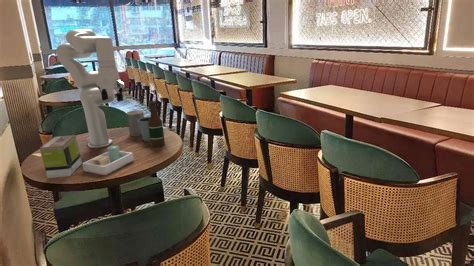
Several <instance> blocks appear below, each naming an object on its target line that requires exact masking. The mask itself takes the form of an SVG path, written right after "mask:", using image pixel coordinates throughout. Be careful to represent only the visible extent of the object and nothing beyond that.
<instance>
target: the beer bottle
mask: <svg viewBox="0 0 474 266" xmlns="http://www.w3.org/2000/svg"><path fill="white" fill-rule="evenodd" d="M148 105H149V110H150V111H149V112H150V116H149V117H150V119H149V122H148V127H149V135H150V141H149V142H150V146H151V147H153V148H159V147H160V148H161V147H163V146H165V134H164V125H163V121H162V120H163V119H162V118H161V117H160V116H159V114H158V107H157V102H156V101H155V100H151V101H149V102H148Z"/></svg>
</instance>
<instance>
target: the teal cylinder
mask: <svg viewBox="0 0 474 266" xmlns="http://www.w3.org/2000/svg"><path fill="white" fill-rule="evenodd" d="M119 151H120V147H119V146H118V145H110V146H108V147H107V152H108V154H109V160H110V163H112V162H114V161H116V160H118V159H120V158H121V157H120V152H119Z"/></svg>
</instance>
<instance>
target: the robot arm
mask: <svg viewBox="0 0 474 266" xmlns="http://www.w3.org/2000/svg"><path fill="white" fill-rule="evenodd" d="M65 34H66V35H65V40H66V42H67V43H61V44H60V45H59V44H58V46H57V47H56V49H55V50H56V51H55V52H56V56H57V58H58V60H59V62H60V64H61V65H62V67H63V68H64V69H65V70H66V71H67V72H68V73H69V76H70V77H71V79H72V81H73V83H74V84H75V87H76V88H77V89H78V90H80V92H79V100H80V102H81V104H82V107H83V112H84V115H85V116H84V117H85V121H86V125H87V126H86V127H87V131H88V137H86V141H89V142H88V144H87V146H88V148H91V149H97V148H99V149H100V148H105V147H107V146H108V147H109V146H111V144H112V143H113V139H110V138H109V133H108V127H107V123H106V122H107V121H106V116H105V112H104V111H103V109H101V108H100V107H99V106H101V105H104V104H110V103H113V102H114V101H115V98H116V101H117V102H118V103H119V102H123V101H124V96H123V93H124V90H125V87H126V84H125V82H123V81H121V79H120V74H119V71H118V67H117V64H116V57H115V50H114V43H113V39H112V37H110V36H104V35H96V33H95V32H94V31H93V30H92V29H91V28H90V29H89V28H86V29H84V28H82V29H81V28H80V29H71V30H69V31H67V32H66V33H65ZM95 53H96V57H97V58H96V59H97V64H98V67H97V70H94V71H93V70H92V71H87V69H86V67H85V66H84V65H83V64H82V63H81V62H79V61H78V60H76V59H85V58H86V59H87V58H90V57H91V56H92V55H93V54H95ZM114 91H116V92H114ZM115 94H116V96H115Z"/></svg>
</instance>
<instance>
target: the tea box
mask: <svg viewBox="0 0 474 266" xmlns="http://www.w3.org/2000/svg"><path fill="white" fill-rule="evenodd" d="M39 150H40V154H41V158H42V161H43V166H44V169H45V174H46V177H47V178H48V179H53V178H54V179H55V178H65V177H70V176H72V174H73V173H74V172H75V171H76V170H77V169H78V168H79V167H80V166H81V165H82V163H83V162H82V161H83V160H82V157H81V153H80V149H79V145H78V139H77V137H76V134H72V135H61V136H53V137H52V138H51V139H50V140H48V141H47V142H45V143H44V144H43V145H42V146H40V147H39Z"/></svg>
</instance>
